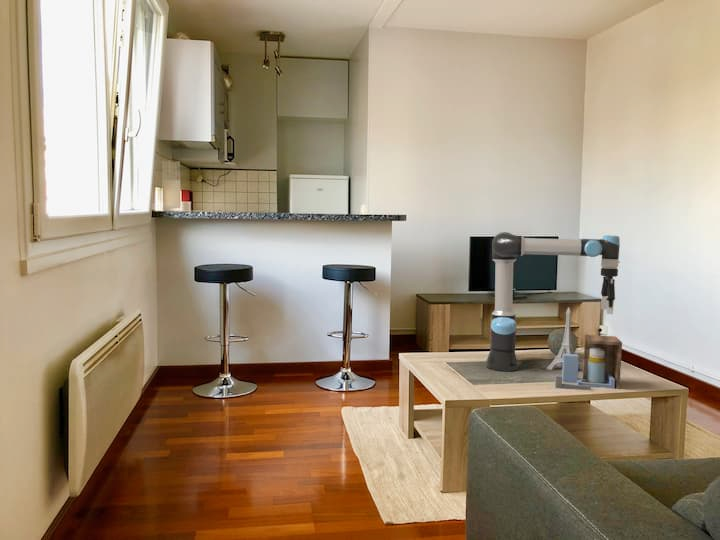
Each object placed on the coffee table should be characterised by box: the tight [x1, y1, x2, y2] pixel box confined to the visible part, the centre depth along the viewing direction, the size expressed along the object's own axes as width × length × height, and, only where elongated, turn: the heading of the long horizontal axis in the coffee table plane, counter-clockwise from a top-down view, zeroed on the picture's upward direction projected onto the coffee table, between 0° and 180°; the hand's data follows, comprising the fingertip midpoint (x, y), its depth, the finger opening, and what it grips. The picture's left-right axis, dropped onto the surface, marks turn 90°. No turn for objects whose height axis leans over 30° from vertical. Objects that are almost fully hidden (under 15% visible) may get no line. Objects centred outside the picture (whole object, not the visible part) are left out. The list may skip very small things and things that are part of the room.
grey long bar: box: [554, 374, 592, 391], centre depth 251 cm, size 14×2×5 cm, turn 77°
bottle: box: [586, 348, 605, 384], centre depth 259 cm, size 7×7×15 cm
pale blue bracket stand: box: [561, 353, 615, 389], centre depth 258 cm, size 20×10×12 cm, turn 77°
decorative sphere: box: [546, 327, 579, 356], centre depth 308 cm, size 15×15×15 cm
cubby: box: [582, 334, 623, 390], centre depth 258 cm, size 13×13×20 cm
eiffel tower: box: [545, 307, 583, 371], centre depth 282 cm, size 13×13×30 cm
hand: (606, 311), depth 283 cm, fingers open, 13 cm apart
